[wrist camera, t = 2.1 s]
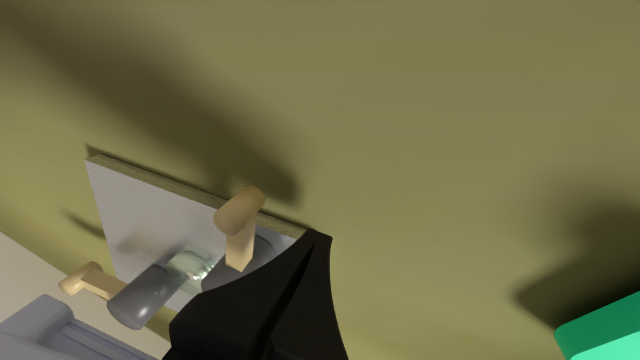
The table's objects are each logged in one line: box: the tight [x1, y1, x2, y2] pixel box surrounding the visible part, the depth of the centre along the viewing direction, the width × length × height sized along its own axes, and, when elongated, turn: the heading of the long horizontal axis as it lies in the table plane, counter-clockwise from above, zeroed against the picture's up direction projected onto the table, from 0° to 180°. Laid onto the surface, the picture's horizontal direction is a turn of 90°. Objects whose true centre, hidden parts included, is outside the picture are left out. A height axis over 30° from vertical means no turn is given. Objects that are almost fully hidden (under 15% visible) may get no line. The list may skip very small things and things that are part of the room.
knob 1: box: [58, 261, 177, 330], centre depth 22 cm, size 8×3×4 cm, turn 79°
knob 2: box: [201, 186, 277, 292], centre depth 15 cm, size 8×3×4 cm, turn 169°
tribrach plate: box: [84, 154, 307, 313], centre depth 21 cm, size 14×18×2 cm
